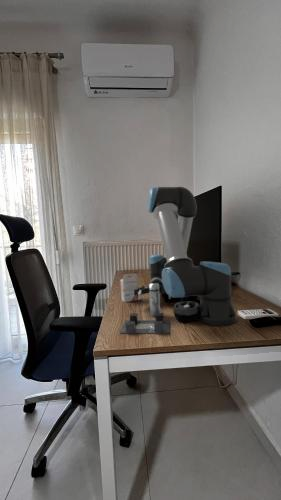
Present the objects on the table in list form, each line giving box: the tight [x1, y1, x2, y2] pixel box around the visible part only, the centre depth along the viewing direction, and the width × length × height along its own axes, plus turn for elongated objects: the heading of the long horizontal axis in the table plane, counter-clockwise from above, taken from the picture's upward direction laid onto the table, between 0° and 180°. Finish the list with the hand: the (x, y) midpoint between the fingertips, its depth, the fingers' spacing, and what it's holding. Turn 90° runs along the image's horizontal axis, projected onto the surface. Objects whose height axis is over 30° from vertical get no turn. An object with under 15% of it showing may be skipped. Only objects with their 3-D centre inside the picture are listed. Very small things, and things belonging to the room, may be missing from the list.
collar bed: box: [119, 312, 171, 335], centre depth 93 cm, size 18×12×3 cm, turn 84°
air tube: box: [148, 282, 161, 318], centre depth 105 cm, size 4×4×14 cm
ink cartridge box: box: [120, 272, 139, 303], centre depth 132 cm, size 9×5×15 cm, turn 112°
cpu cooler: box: [173, 301, 200, 324], centre depth 100 cm, size 10×6×10 cm
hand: (154, 296), depth 108 cm, fingers open, 13 cm apart
